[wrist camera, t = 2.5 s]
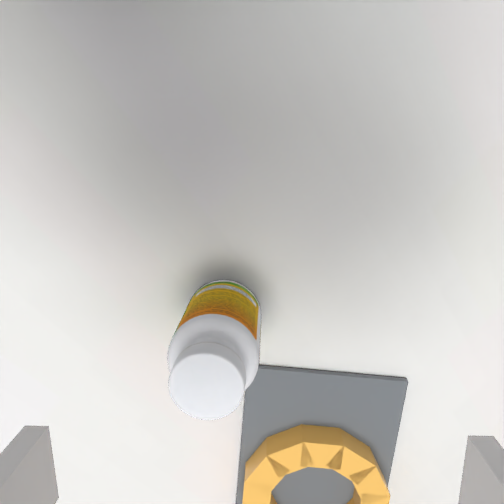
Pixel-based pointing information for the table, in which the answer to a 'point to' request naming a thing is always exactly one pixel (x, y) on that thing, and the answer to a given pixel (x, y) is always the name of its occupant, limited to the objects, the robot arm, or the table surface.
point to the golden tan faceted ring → (313, 463)
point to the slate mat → (321, 423)
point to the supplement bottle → (215, 350)
